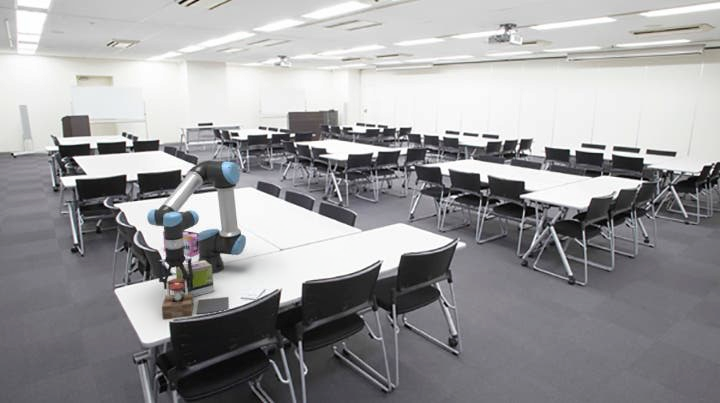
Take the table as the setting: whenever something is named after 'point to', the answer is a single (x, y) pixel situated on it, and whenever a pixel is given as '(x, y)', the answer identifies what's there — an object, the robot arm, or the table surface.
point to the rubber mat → (212, 305)
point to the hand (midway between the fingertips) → (177, 294)
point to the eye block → (177, 306)
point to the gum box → (189, 243)
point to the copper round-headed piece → (177, 288)
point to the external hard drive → (253, 293)
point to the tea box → (198, 278)
